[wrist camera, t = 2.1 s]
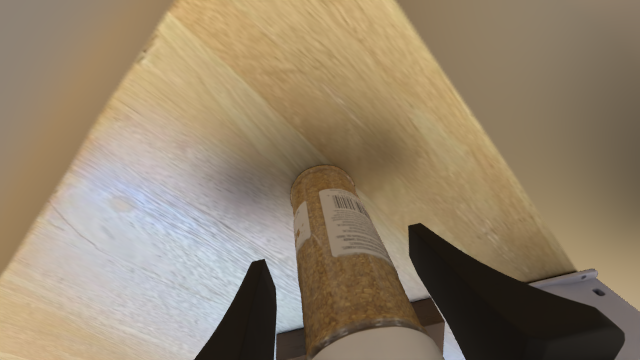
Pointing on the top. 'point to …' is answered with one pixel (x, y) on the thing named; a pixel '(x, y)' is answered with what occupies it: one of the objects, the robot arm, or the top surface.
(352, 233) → the sprinkles bottle
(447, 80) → the top surface
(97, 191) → the top surface
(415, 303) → the holder
